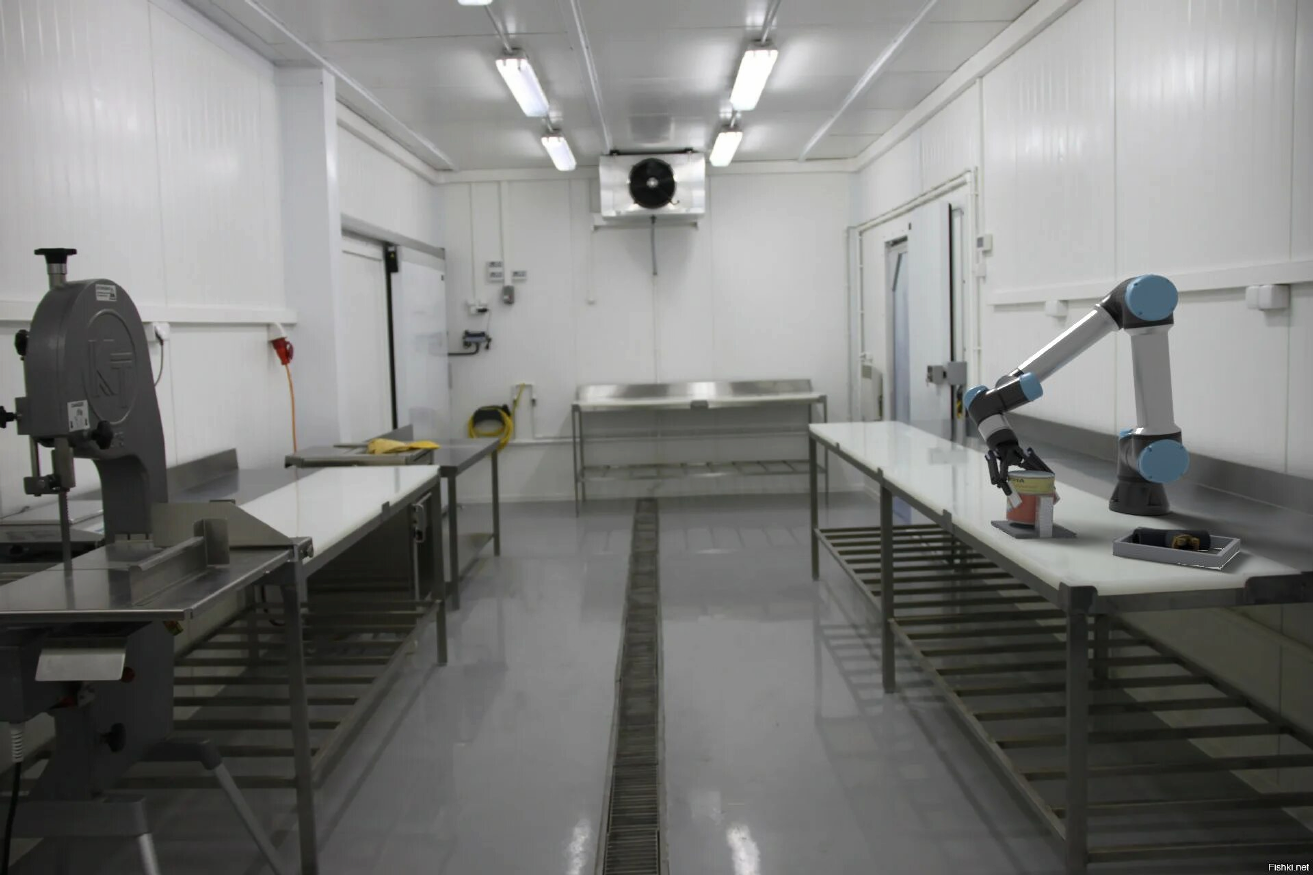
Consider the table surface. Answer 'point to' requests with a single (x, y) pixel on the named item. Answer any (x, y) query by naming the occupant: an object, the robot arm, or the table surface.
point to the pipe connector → (1173, 539)
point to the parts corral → (1177, 551)
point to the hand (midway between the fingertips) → (1037, 503)
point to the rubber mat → (1030, 530)
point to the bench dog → (1044, 515)
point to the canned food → (1028, 493)
